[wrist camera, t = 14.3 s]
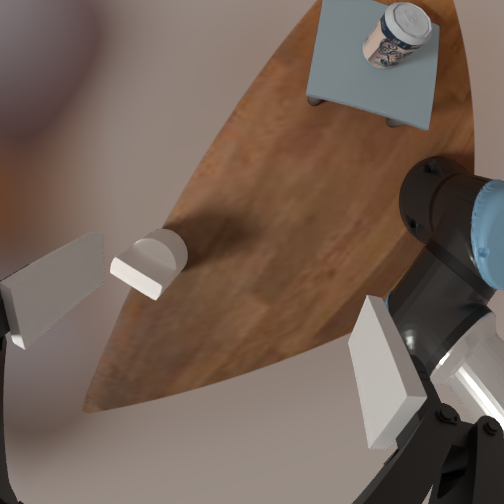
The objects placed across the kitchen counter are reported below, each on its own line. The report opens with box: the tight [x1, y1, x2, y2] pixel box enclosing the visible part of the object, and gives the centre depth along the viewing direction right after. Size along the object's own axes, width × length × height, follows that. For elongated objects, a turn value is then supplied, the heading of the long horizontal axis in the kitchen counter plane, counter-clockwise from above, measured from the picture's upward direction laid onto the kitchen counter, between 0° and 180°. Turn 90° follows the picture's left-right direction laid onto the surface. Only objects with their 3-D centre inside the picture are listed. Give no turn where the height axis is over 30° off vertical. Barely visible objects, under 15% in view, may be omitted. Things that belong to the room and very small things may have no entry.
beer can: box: [362, 2, 432, 69], centre depth 24 cm, size 5×5×12 cm
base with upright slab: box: [110, 229, 188, 301], centre depth 49 cm, size 9×9×12 cm
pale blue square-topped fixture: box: [306, 0, 440, 130], centre depth 35 cm, size 16×16×12 cm
